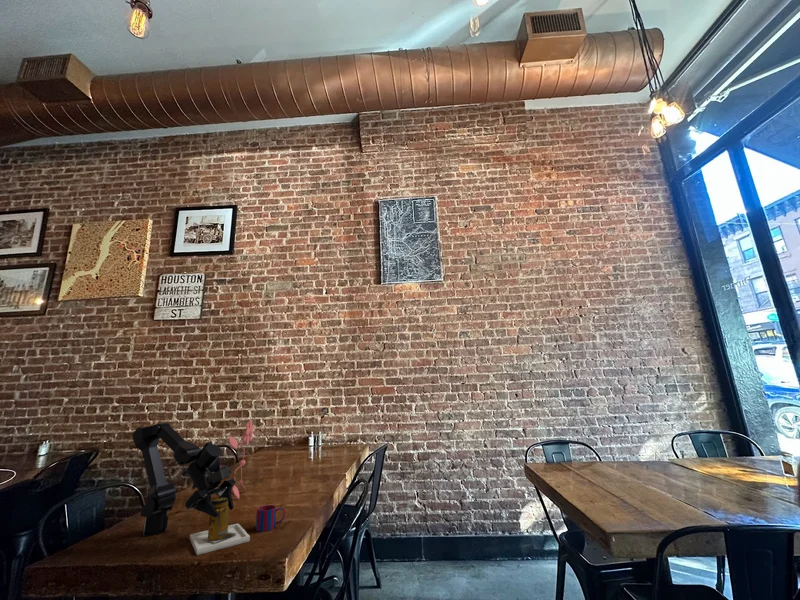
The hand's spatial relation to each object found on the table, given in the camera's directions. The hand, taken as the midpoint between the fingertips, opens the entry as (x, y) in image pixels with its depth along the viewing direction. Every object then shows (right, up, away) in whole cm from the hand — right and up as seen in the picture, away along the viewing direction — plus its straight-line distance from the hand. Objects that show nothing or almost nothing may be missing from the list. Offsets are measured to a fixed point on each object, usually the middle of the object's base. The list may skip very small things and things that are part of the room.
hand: (225, 512), depth 123 cm
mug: (+12, -11, +8) cm, 18 cm away
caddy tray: (-1, -8, -2) cm, 9 cm away
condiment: (-1, -8, -1) cm, 8 cm away
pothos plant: (-14, -21, +49) cm, 56 cm away
